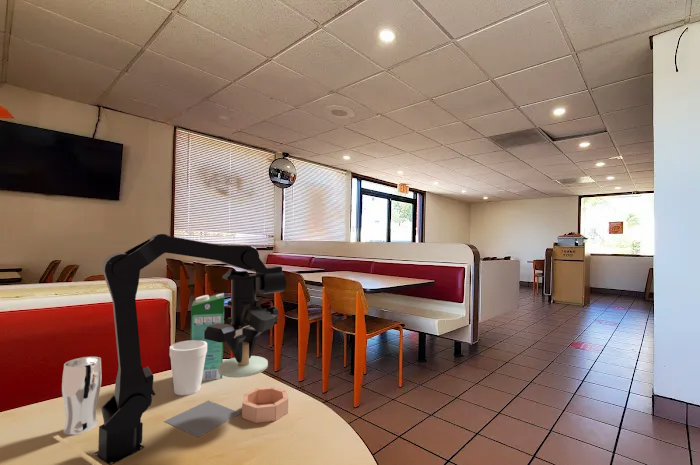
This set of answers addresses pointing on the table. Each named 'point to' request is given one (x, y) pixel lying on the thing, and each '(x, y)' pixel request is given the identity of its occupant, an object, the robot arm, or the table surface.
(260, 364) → the lid
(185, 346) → the foam cup
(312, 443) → the table surface
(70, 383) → the beer glass
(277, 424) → the table surface
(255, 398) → the bowl
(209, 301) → the milk carton
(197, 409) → the mat
